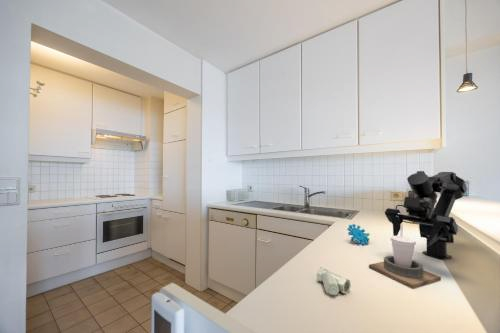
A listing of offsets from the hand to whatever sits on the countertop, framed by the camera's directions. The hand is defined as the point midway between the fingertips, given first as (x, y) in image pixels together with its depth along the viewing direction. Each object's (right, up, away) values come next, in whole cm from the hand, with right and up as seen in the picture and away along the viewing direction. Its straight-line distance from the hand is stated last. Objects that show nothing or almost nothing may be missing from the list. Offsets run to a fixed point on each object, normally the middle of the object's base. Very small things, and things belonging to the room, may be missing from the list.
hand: (410, 240), depth 67 cm
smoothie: (-5, -8, -3) cm, 10 cm away
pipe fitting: (-31, -9, -12) cm, 34 cm away
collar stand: (-5, -9, -3) cm, 11 cm away
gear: (-3, -10, +26) cm, 28 cm away
